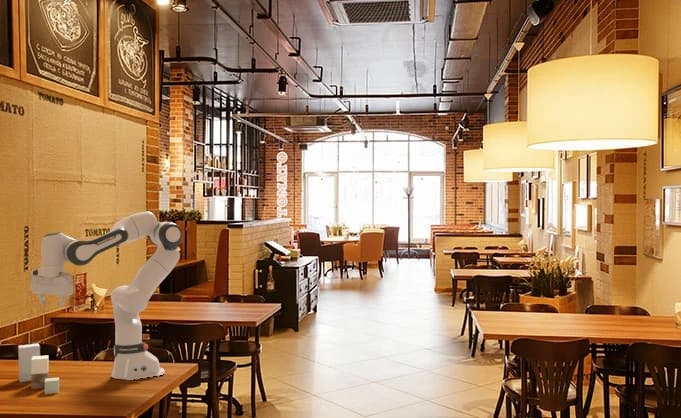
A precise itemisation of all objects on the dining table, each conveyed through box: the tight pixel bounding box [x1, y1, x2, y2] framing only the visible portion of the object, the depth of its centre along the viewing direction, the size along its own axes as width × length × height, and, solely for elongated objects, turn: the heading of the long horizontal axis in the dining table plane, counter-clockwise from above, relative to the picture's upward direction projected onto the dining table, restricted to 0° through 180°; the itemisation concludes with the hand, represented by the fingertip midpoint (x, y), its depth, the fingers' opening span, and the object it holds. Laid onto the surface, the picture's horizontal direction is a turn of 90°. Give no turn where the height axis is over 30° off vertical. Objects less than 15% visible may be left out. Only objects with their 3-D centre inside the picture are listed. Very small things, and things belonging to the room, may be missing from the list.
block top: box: [31, 354, 49, 374], centre depth 265 cm, size 6×6×6 cm
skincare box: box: [17, 342, 41, 383], centre depth 275 cm, size 8×6×15 cm
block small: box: [44, 376, 60, 395], centre depth 257 cm, size 5×5×5 cm
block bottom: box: [30, 372, 49, 390], centre depth 265 cm, size 6×6×6 cm
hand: (51, 305), depth 265 cm, fingers open, 8 cm apart
